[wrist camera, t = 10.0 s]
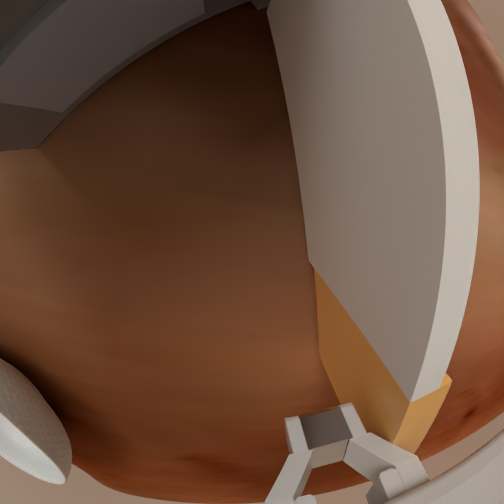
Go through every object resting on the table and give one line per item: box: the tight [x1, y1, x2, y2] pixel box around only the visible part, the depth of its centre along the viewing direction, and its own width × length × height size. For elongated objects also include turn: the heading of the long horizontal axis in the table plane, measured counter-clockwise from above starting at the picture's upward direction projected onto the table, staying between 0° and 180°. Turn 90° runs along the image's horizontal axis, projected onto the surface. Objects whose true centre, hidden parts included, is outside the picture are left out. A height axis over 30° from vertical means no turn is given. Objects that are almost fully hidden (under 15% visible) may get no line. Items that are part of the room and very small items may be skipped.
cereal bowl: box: [0, 358, 72, 484], centre depth 14 cm, size 17×17×7 cm
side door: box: [266, 0, 479, 454], centre depth 9 cm, size 20×2×10 cm, turn 10°
